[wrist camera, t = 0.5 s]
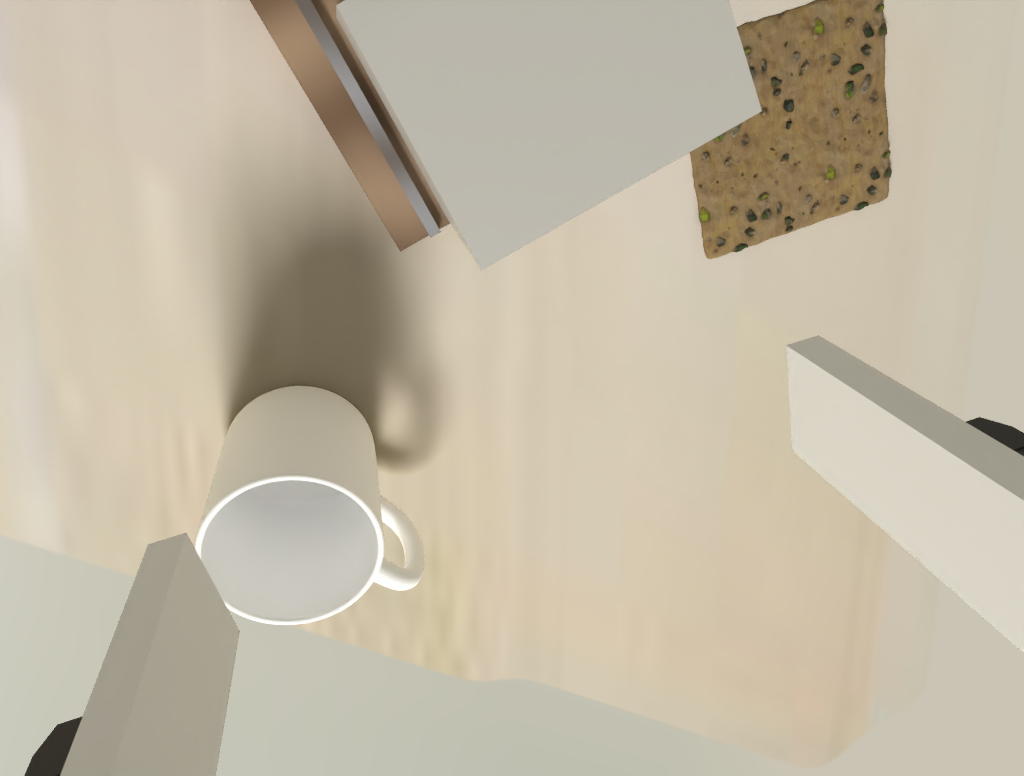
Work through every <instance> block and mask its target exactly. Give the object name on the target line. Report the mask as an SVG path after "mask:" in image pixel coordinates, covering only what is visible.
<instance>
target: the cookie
mask: <svg viewBox="0 0 1024 776" xmlns="http://www.w3.org/2000/svg"><path fill="white" fill-rule="evenodd" d="M883 9H884V4H882V0H815V1H813V2H811V3H809V4H807V5H804V6H801V7H798V8H795V9H792V10H787V11H784V12H782V13H781V14H777V15H773V16H768V17H765V18H762V19H760V20H757V21H755V22H748V23H745V24H743V25H741V26H739V27H737V30H738V33H739V36H740V40H741V43H742V46H743V50H744V53H745V56H746V59H747V63H748V66H749V69H750V73H751V76H752V79H753V83H754V86H755V89H756V93H757V96H758V99H759V103H760V106H761V109H762V111H761V112H760V113H758V114H756V115H754V116H753V117H751V118H749V119H747V120H746V121H744V122H742V123H740V124H739V125H737V126H735V127H733V128H731V129H730V130H728V131H726V132H724V133H723V134H721V135H719V136H717V137H716V138H714V139H712V140H710V141H709V142H707V143H705V144H703V145H701V146H700V147H698V148H696V149H694V150H693V151H691V152H690V155H691V162H692V168H693V178H694V187H695V191H696V196H697V201H698V210H699V219H700V222H701V227H702V238H703V247H704V251H705V254H706V257H707V258H708V259H712V258H716V257H720V256H723V255H726V254H728V253H730V252H739V251H741V250H743V249H744V248H746V247H748V246H752V245H756V244H759V243H761V242H763V241H766V240H768V239H770V238H773V237H777V236H780V235H784V234H787V233H789V232H792V231H795V230H797V229H800V228H802V227H806V226H810V225H812V224H814V223H817V222H819V221H822V220H824V219H827V218H830V217H834V216H839V215H841V214H844V213H847V212H849V211H852V210H860V209H862V208H864V207H865V206H868V205H870V204H875V203H878V202H880V201H882V200H884V199H886V198H887V197H888V192H889V178H890V177H891V173H892V170H891V168H890V166H889V156H890V150H889V146H888V121H887V110H886V98H885V89H884V79H885V66H884V63H885V36H886V34H887V27H886V25H885V23H884V18H883Z"/></svg>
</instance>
